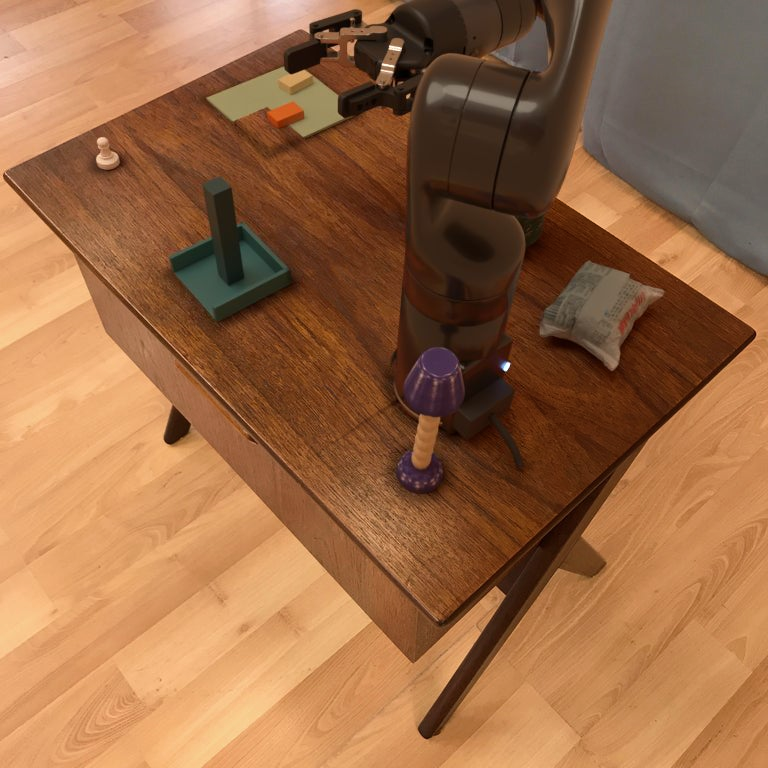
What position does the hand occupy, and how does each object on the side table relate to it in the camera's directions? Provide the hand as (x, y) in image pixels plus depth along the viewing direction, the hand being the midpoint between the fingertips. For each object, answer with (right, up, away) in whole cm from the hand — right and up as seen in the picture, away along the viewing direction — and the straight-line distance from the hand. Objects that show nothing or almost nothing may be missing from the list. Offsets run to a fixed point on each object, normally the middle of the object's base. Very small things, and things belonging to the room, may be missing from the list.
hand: (312, 84), depth 73 cm
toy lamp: (+10, -36, -2) cm, 37 cm away
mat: (-6, +8, +29) cm, 31 cm away
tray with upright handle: (-9, -16, +11) cm, 22 cm away
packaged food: (+28, -22, +9) cm, 37 cm away
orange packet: (-6, +7, +26) cm, 28 cm away
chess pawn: (-26, -1, +22) cm, 34 cm away
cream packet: (-5, +12, +32) cm, 34 cm away
